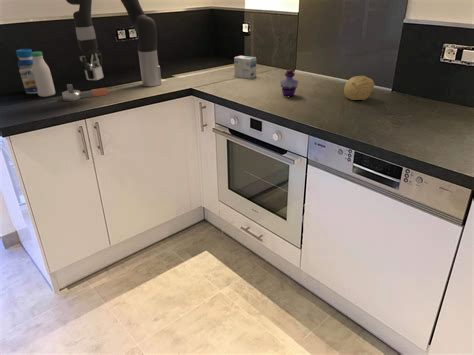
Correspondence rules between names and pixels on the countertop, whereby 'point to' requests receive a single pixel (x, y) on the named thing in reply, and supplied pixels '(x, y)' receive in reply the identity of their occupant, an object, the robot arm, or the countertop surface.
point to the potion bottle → (289, 84)
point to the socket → (96, 73)
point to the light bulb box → (245, 67)
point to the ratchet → (82, 93)
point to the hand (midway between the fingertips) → (95, 77)
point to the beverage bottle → (26, 70)
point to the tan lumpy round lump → (358, 88)
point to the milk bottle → (42, 75)
